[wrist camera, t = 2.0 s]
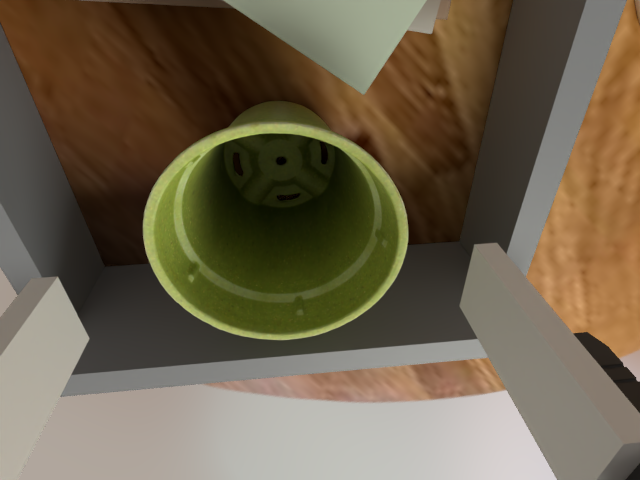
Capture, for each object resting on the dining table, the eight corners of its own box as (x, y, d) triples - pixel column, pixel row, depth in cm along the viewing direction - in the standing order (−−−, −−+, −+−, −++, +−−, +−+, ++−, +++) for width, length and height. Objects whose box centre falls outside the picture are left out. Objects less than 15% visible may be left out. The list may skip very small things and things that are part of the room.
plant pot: (219, 242, 24) (196, 357, 17) (160, 82, 19) (89, 154, 11) (370, 215, 24) (410, 319, 17) (355, 47, 18) (405, 97, 11)
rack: (-120, -149, 14) (-493, -258, 7) (584, -154, 15) (819, -246, 9) (88, 286, 25) (22, 400, 18) (476, 257, 27) (542, 352, 20)
